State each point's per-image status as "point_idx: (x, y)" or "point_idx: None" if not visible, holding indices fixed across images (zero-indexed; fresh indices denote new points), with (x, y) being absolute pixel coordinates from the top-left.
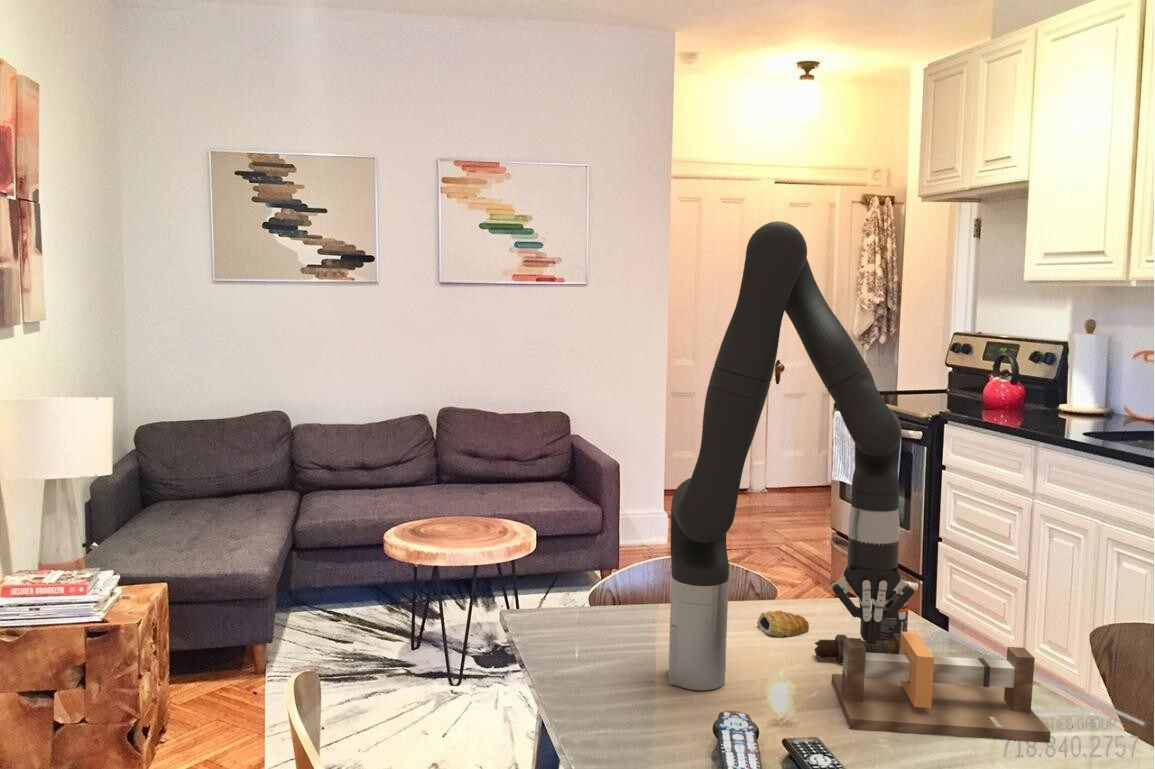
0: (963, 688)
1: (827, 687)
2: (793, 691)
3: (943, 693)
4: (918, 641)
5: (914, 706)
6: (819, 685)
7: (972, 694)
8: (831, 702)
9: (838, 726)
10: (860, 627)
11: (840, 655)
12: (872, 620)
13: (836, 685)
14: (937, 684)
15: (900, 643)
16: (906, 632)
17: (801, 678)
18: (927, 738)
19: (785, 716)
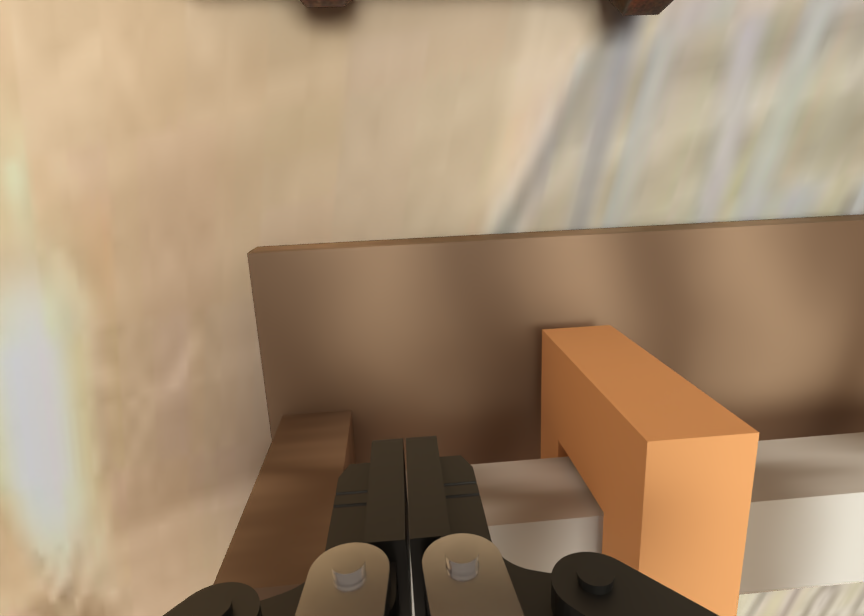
0: (802, 293)
1: (238, 298)
2: (91, 368)
3: (700, 361)
4: (709, 593)
5: None
6: (203, 285)
7: (812, 347)
8: (250, 433)
9: None
10: (333, 508)
11: (304, 4)
12: (423, 609)
13: (263, 375)
14: (708, 275)
15: (610, 408)
16: (683, 451)
17: (119, 224)
18: None
19: (78, 575)
